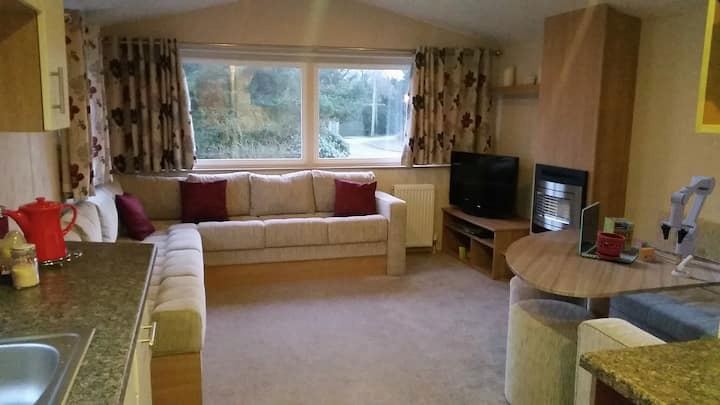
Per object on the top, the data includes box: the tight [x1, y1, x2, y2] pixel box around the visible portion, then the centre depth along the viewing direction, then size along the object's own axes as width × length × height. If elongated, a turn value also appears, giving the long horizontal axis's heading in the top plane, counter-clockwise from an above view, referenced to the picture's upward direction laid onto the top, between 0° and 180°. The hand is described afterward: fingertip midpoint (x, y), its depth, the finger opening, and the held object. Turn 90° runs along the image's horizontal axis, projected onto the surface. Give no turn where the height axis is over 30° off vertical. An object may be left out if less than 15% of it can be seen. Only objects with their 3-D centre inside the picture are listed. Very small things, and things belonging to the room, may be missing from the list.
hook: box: [671, 255, 694, 278], centre depth 249 cm, size 8×12×7 cm
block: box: [637, 247, 656, 262], centre depth 272 cm, size 8×3×6 cm, turn 113°
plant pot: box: [595, 231, 626, 261], centre depth 272 cm, size 13×13×12 cm
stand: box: [638, 241, 684, 266], centre depth 277 cm, size 6×22×5 cm, turn 23°
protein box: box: [603, 216, 635, 252], centre depth 293 cm, size 10×15×16 cm
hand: (672, 241), depth 274 cm, fingers open, 7 cm apart
